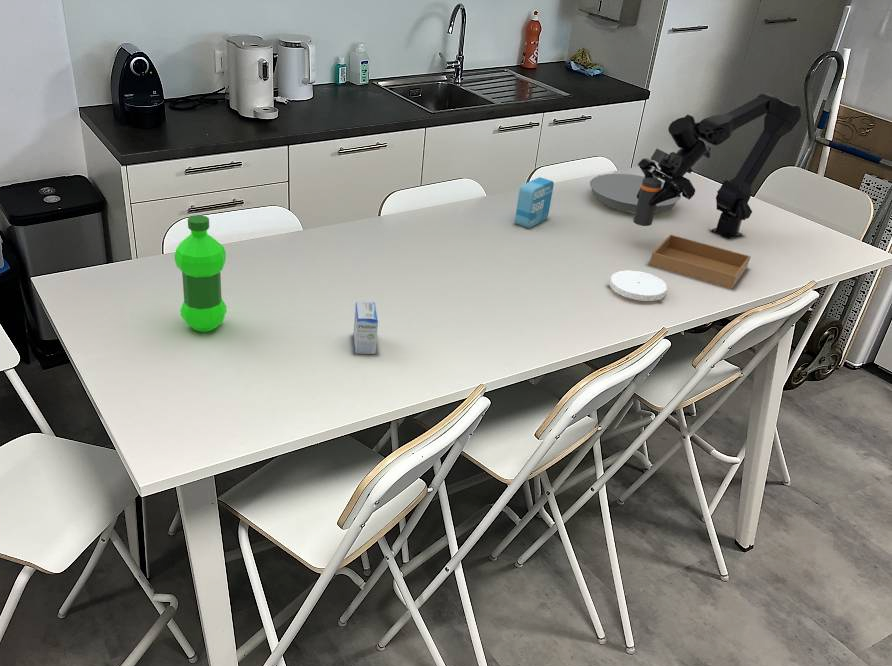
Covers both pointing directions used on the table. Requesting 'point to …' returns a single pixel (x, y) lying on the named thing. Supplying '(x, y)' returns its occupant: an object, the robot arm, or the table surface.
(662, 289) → the plastic lid
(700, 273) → the brown wooden tray
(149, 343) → the table surface
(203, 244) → the plastic bottle
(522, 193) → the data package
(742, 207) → the robot arm
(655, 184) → the dark grey cylinder
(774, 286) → the table surface
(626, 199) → the flat disc
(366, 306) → the medicine box
